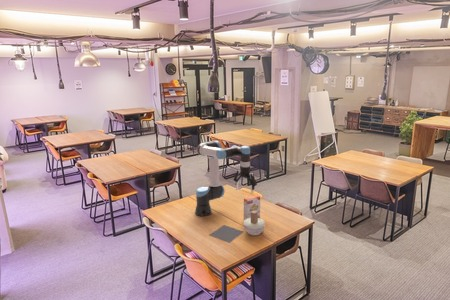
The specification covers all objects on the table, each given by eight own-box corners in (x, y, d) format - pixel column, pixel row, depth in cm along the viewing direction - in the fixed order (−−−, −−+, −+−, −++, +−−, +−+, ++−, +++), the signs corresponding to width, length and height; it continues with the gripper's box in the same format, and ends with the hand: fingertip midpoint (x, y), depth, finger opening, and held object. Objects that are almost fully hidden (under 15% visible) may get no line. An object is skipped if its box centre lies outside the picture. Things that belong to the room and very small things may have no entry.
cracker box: (247, 223, 262) (247, 200, 257) (243, 220, 267) (243, 197, 262) (260, 218, 270) (260, 196, 264) (256, 216, 275) (256, 194, 269)
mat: (208, 235, 244) (208, 235, 244) (223, 225, 259) (223, 224, 259) (229, 243, 232) (229, 242, 232) (244, 232, 248) (244, 231, 248)
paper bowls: (263, 238, 238) (263, 228, 237) (243, 236, 241) (243, 227, 239) (264, 228, 253) (264, 219, 251) (245, 227, 256) (245, 218, 254)
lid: (239, 224, 243) (239, 213, 241) (250, 216, 257) (250, 205, 254) (258, 231, 234) (258, 218, 231) (268, 222, 247) (269, 210, 244)
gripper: (229, 164, 244) (229, 189, 250) (256, 170, 230) (255, 196, 236) (234, 161, 250) (234, 186, 256) (261, 167, 236) (260, 193, 242)
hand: (244, 191), depth 246 cm, fingers open, 13 cm apart
